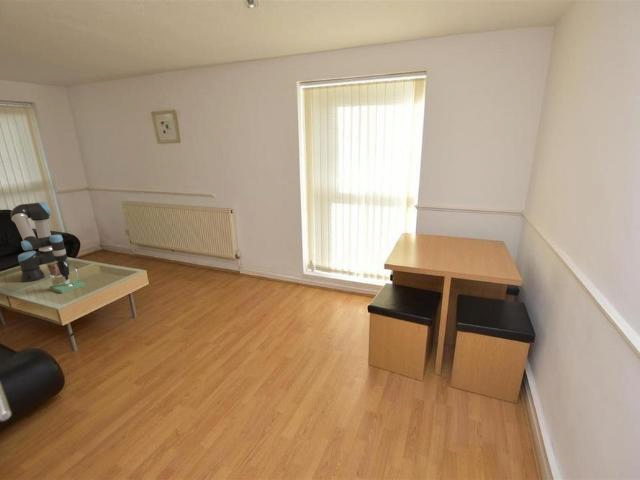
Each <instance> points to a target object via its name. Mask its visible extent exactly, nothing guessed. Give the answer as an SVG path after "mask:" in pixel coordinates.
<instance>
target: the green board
mask: <svg viewBox="0 0 640 480" xmlns="http://www.w3.org/2000/svg"><path fill="white" fill-rule="evenodd" d="M69 282H70V283H68V284H65V282H64V281H63V282H59V283H56V284H53V285H50V286H49V287H48V288H49V290H51V291H52V292H53V291H54V292H56V293H59V294H65V293H68V292H71V291H75V290H76V289H80V288H82V287H86V283H85V282H83V281H80V282H78V279H77V280H76V279H69ZM69 284H72V285H73V286H70V287H68V285H69Z"/></svg>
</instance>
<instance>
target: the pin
mask: <svg viewBox="0 0 640 480" xmlns="http://www.w3.org/2000/svg"><path fill="white" fill-rule="evenodd" d="M74 269H75V273H76V278H77V281H78V282H81V281H80V278H79V275H78V270H79V267H78V265H74Z"/></svg>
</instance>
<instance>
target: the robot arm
mask: <svg viewBox="0 0 640 480" xmlns="http://www.w3.org/2000/svg"><path fill="white" fill-rule="evenodd" d="M51 216H52V211H51V209H50V207H49V205H48V204H47V203H46V202H34V203H33V202H31V203H22V204H19V205H16V206H15V207H13V209H12V210H11V211H10V219H11V221H12V222H13V223H14V224H15V225H16V228H17V230H18V232H19V235H20V237H21V238H22V241H20V244H21V248H22V249H23V251H25V252H22V253H20V254H18V255H17V259H18V261H17V262H18V263H19V266H20V270H21V276H20V281H21V282H22V283H28V282H35V281H39V280H41V279H43V278H45V277H46V275H45V273H44V271H43V270H42V269H41V267H40V266H42V265H47V264H53V263H56V266H57V269H58V271H59V273H60V275H61V276H62V278H63V282H65V284H68V283H70V282H69V280H70V279H69V275H70V269H69V265H70V264H69V263H67V261H66V260H67V259H68V255H67V251H66V250H67V249H66V247H65V244H64V238H63V236H62V234H52V233H51V230H50V225H49V219H50V217H51ZM28 219H30V220H31V221H32V222H34V225H35V231H36V234H37V236H36V234H35V232H34V230H33V228H32V226H31V224H30V222H29V220H28ZM37 249H38V251H36V250H37Z"/></svg>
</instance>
